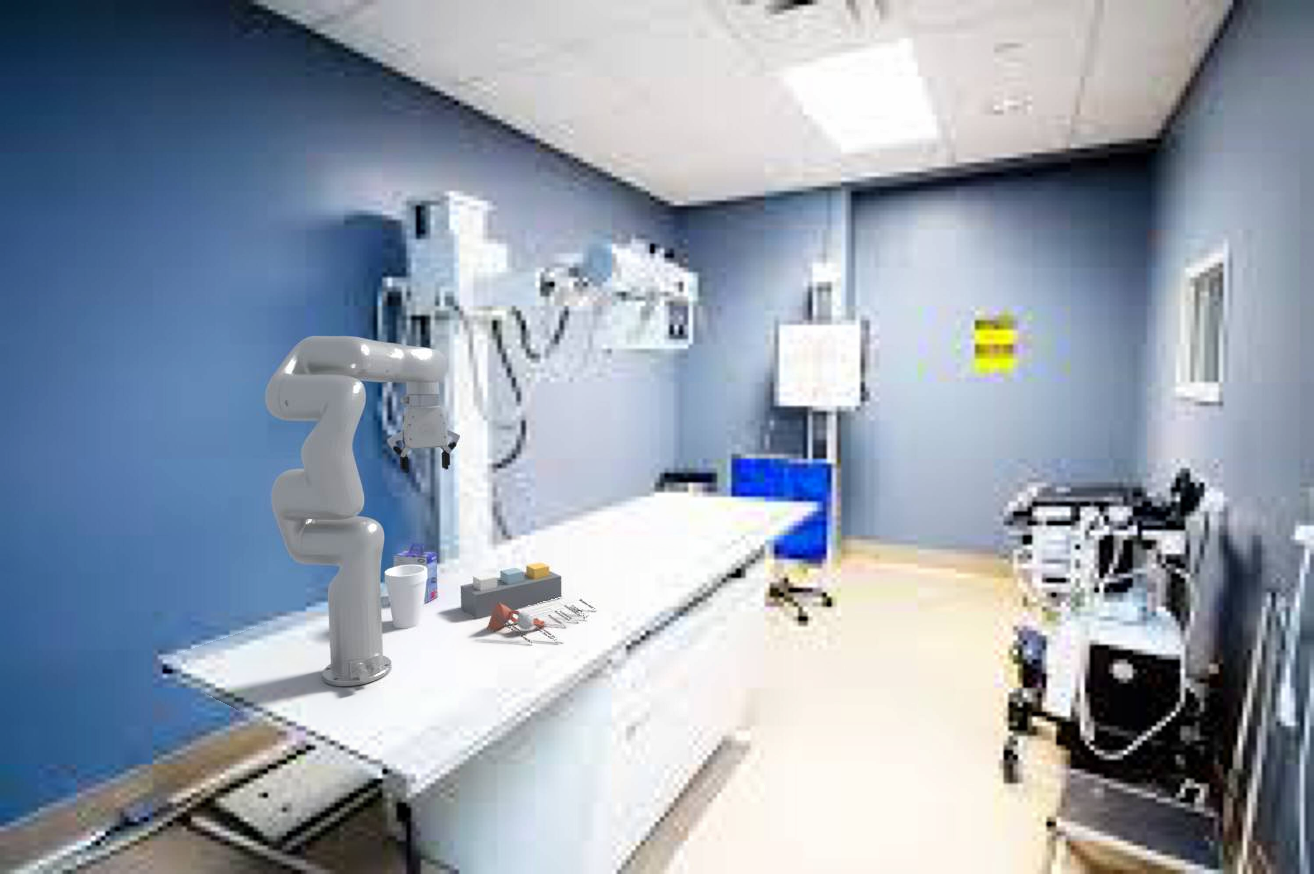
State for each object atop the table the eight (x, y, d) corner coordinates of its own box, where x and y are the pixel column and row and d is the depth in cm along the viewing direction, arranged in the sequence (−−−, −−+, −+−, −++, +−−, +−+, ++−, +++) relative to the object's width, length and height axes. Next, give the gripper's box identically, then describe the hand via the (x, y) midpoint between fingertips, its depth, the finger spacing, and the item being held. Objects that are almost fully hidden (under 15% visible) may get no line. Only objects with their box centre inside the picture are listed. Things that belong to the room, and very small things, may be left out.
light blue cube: (524, 586, 175) (523, 571, 174) (508, 590, 172) (508, 574, 171) (515, 582, 178) (515, 567, 178) (500, 585, 175) (500, 570, 175)
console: (561, 598, 179) (561, 576, 179) (476, 618, 164) (476, 595, 164) (544, 589, 186) (544, 568, 186) (461, 608, 171) (460, 585, 171)
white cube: (497, 592, 170) (497, 577, 169) (480, 596, 167) (480, 580, 167) (489, 588, 173) (489, 572, 173) (473, 591, 170) (472, 576, 170)
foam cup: (384, 632, 155) (382, 577, 154) (388, 618, 164) (386, 566, 163) (427, 628, 158) (426, 574, 157) (429, 614, 167) (428, 563, 165)
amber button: (549, 580, 179) (549, 566, 179) (534, 584, 177) (534, 569, 176) (540, 576, 183) (540, 562, 182) (526, 580, 180) (526, 565, 179)
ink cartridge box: (439, 596, 180) (437, 543, 179) (428, 603, 175) (426, 548, 173) (405, 593, 182) (403, 541, 181) (393, 600, 177) (391, 546, 175)
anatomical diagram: (486, 605, 153) (548, 571, 175) (476, 636, 155) (538, 598, 178) (558, 654, 146) (613, 612, 169) (546, 686, 149) (602, 640, 171)
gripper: (390, 403, 157) (393, 476, 160) (463, 401, 167) (465, 469, 169) (382, 401, 164) (385, 471, 166) (453, 399, 173) (455, 465, 175)
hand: (425, 470), depth 168 cm, fingers open, 9 cm apart
